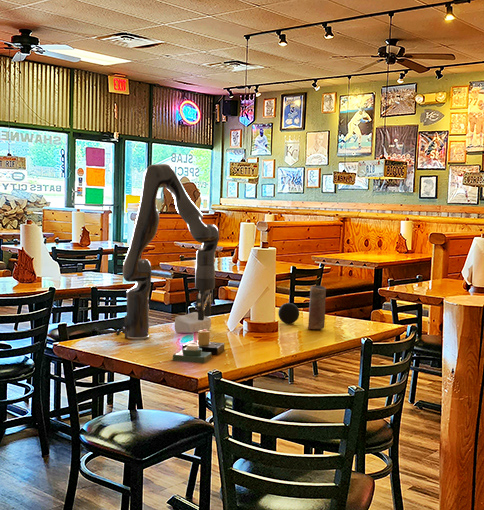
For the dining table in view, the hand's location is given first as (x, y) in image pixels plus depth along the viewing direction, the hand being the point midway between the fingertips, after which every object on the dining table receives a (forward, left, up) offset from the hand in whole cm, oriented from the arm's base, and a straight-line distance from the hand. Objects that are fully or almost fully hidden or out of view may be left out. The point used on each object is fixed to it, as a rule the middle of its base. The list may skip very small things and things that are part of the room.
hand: (204, 318), depth 269 cm
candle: (+35, +63, -13) cm, 73 cm away
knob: (0, 0, -10) cm, 10 cm away
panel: (0, 0, -13) cm, 13 cm away
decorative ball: (+20, +74, -13) cm, 78 cm away
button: (0, -14, -9) cm, 17 cm away
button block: (0, -14, -13) cm, 19 cm away
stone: (-18, +40, -13) cm, 46 cm away
